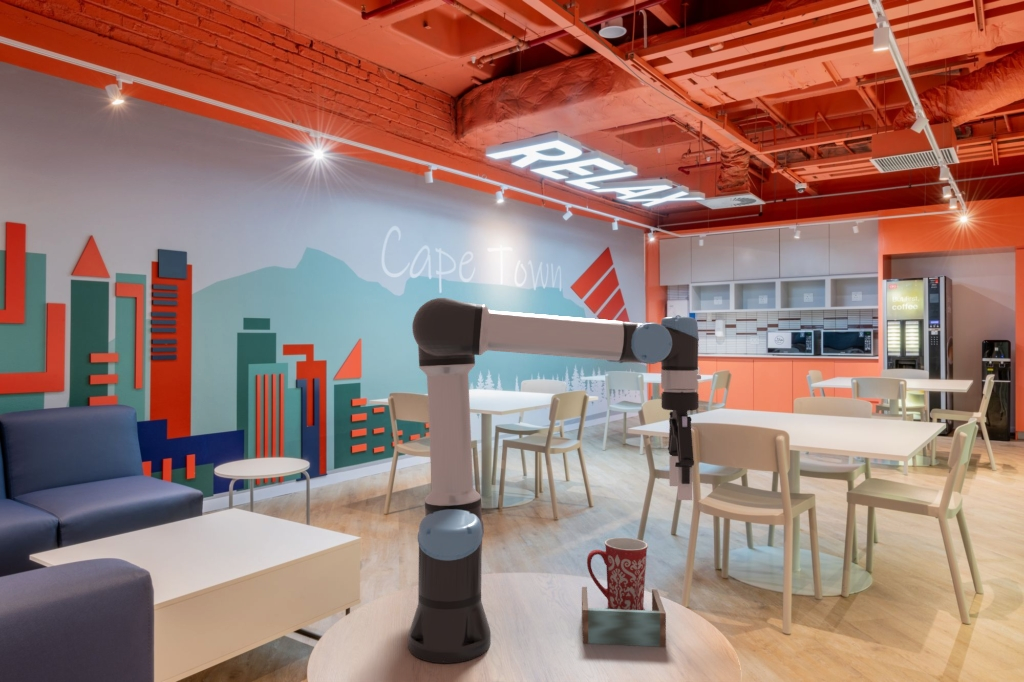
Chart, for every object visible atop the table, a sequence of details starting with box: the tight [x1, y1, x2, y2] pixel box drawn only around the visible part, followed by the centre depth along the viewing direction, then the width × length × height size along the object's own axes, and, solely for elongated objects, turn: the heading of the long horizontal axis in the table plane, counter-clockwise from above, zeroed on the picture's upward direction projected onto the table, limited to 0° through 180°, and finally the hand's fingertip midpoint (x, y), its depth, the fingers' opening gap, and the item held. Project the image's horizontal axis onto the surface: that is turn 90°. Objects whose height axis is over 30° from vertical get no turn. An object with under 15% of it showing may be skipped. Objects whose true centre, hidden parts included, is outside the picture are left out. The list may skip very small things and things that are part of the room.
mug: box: [586, 537, 649, 610], centre depth 135 cm, size 13×9×14 cm
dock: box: [581, 586, 667, 648], centre depth 123 cm, size 15×12×6 cm
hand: (680, 492), depth 134 cm, fingers open, 13 cm apart
